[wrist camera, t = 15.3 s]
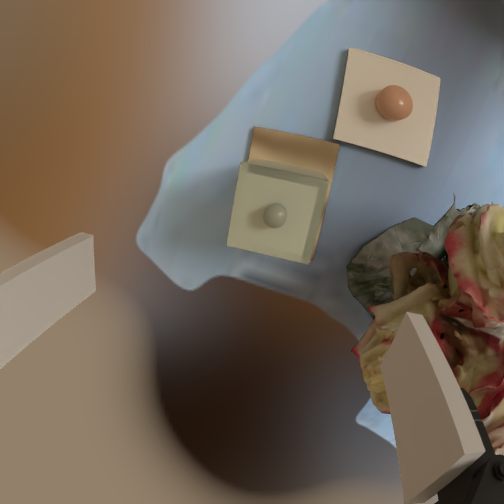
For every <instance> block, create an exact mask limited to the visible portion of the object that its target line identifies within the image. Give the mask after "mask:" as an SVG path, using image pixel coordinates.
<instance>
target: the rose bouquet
mask: <svg viewBox="0 0 504 504" xmlns="http://www.w3.org/2000/svg"><path fill="white" fill-rule="evenodd" d="M454 198H455V195H454ZM456 210H457V211H456ZM456 210H455V204H454V205H453V206H452V207H451V209H450V210H449V211H448V213H447V214H446V215H445V216H444V217H443V218H442V219H441V220H440V221H439V222H438V223H437V224H436V225H435V226H432V225H430V224H427V223H425V222H423V221H421V220H419V219H417V218H415V217H414V218H411V219H410V220H407V221H404V223H401V224H397V225H395V226H394V227H391V229H390V228H389V229H388V230H387V231H385V232H384V234H381V235H379V236H378V238H377V239H374V240H372V241H371V242H369V243H368V244H366V245H364V246H363V249H362V250H361V251H360V252H359V253H358V255H357V257H355V258H354V260H352V261H351V263H350V264H349V265H348V266H347V275H348V287H349V289H350V290H351V293H352V294H353V296H354V297H356V298H357V299H358V300H359V302H360V303H361V304H362V305H363V306H364V307H365V309H366V310H367V311H368V312H369V313H370V315H371V316H372V317H373V321H372V323H371V325H370V327H369V329H368V330H367V331H366V333H365V334H364V335H363V337H362V338H361V339H360V341H359V342H358V344H357V345H356V346H355V347H354V348H353V349H352V350H351V352H353V353H354V354H355V355H357V357H358V359H359V363H360V366H361V373H362V374H363V379H364V381H365V382H366V383H367V389H368V390H369V391H370V392H371V393H370V396H371V398H372V402H373V404H374V405H375V406H376V407H377V409H378V410H379V411H380V412H382V413H386V414H391V413H390V408H389V403H388V399H387V394H386V389H385V385H384V380H383V376H382V372H381V368H380V365H381V363H382V361H383V359H384V357H385V355H386V353H387V352H388V350H389V348H390V346H391V344H392V342H393V340H394V338H395V335H396V333H397V331H398V329H399V327H400V325H401V323H402V321H403V318H404V316H405V314H406V312H410V313H415V314H420V315H423V317H424V319H425V320H426V322H427V324H428V326H429V328H430V329H431V331H432V333H433V335H434V337H435V339H436V340H437V342H438V344H439V346H440V348H441V350H442V352H443V354H444V356H445V358H446V360H447V362H448V364H449V366H450V368H451V370H452V372H453V374H454V376H455V378H456V380H457V383H458V385H459V387H460V388H464V389H465V390H466V391H467V393H468V394H469V395H470V396H471V397H472V399H473V401H474V403H475V405H476V407H477V412H479V414H480V417H481V421H483V424H484V426H485V429H486V431H487V434H488V436H489V439H490V441H491V444H492V447H493V449H494V452H495V454H497V455H500V454H502V455H503V454H504V208H503V207H502V206H500V205H498V204H497V205H495V204H493V202H492V205H489V204H485V205H483V206H482V207H480V206H479V205H477V204H473V205H472V206H471V205H469V206H468V207H466V208H463V209H461V210H458V209H456ZM444 255H446V259H445V261H444V260H441V261H440V259H441V258H442V257H443V256H444Z"/></svg>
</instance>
